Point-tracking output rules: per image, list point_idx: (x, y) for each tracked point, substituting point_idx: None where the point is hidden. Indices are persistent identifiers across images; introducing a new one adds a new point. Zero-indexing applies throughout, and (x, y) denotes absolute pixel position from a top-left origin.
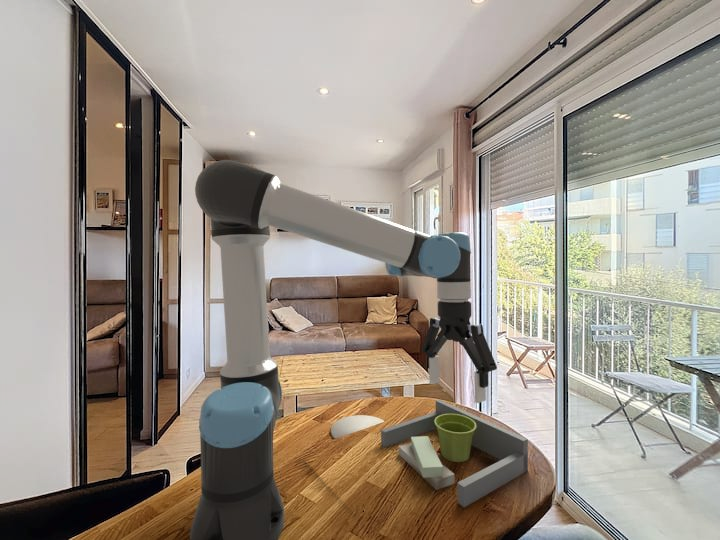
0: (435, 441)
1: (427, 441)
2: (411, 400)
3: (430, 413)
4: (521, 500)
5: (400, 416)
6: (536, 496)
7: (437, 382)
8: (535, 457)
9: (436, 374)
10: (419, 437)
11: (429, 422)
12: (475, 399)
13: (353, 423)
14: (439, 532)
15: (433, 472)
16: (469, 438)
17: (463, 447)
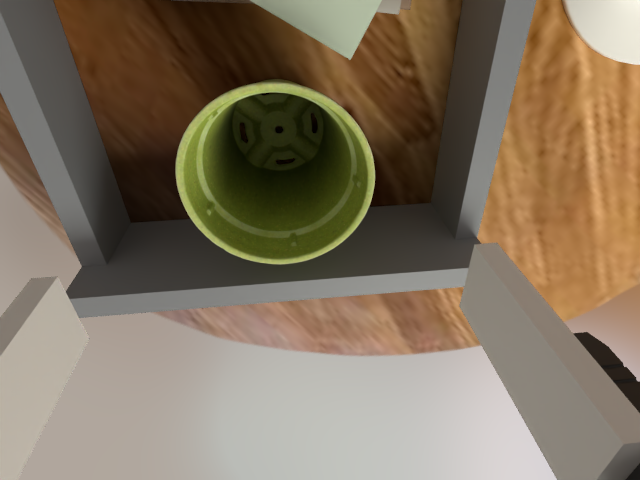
0: (399, 149)
1: (315, 20)
2: (637, 262)
3: (482, 211)
4: (20, 141)
5: (608, 157)
6: (29, 191)
7: (464, 293)
8: (182, 315)
9: (494, 332)
10: (365, 10)
11: (457, 178)
12: (40, 290)
13: None
14: None
15: None
16: (204, 177)
17: (212, 138)
